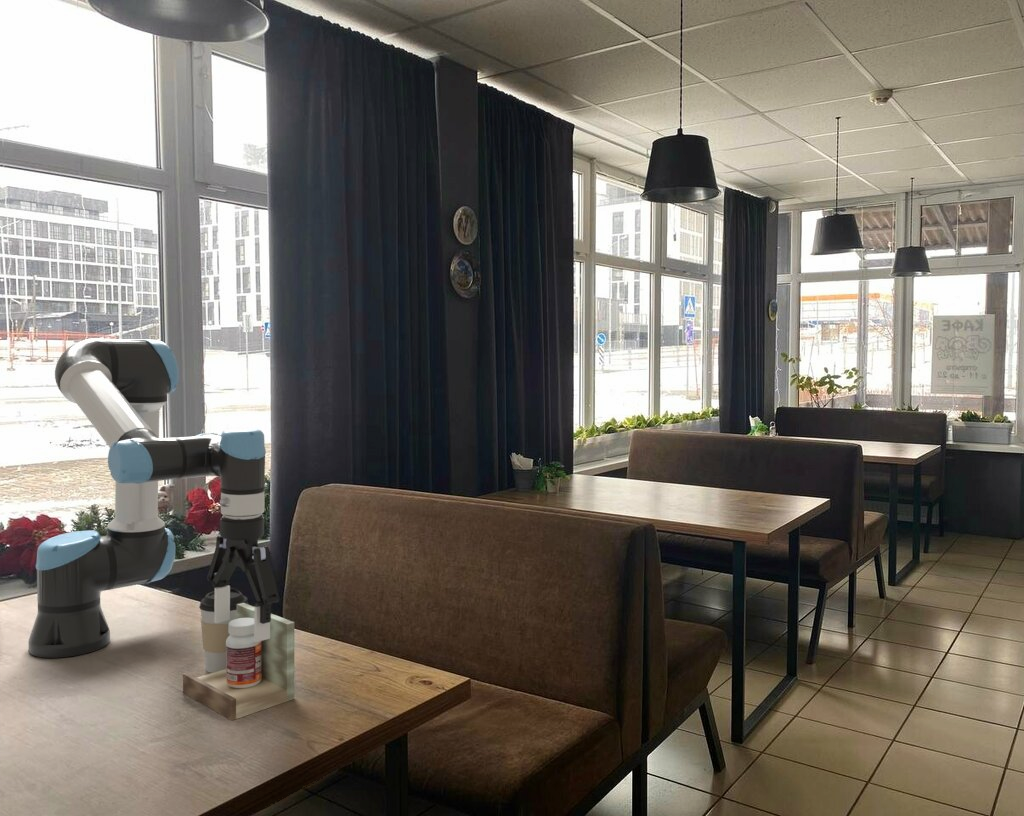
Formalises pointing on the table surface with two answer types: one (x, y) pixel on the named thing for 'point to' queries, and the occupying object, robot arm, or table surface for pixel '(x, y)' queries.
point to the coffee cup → (217, 630)
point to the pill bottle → (242, 655)
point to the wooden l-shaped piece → (264, 694)
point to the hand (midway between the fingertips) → (241, 630)
